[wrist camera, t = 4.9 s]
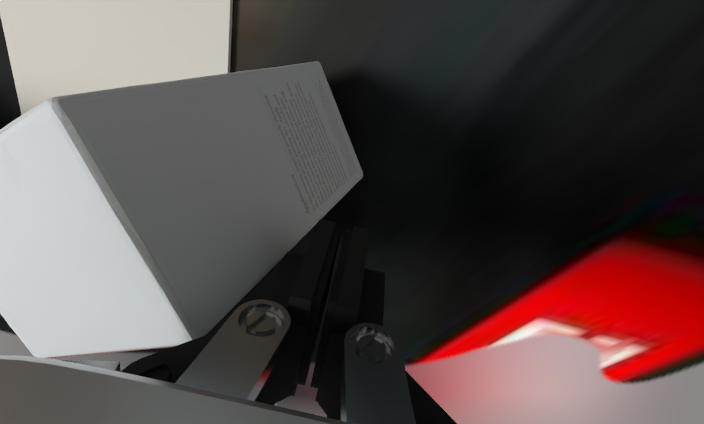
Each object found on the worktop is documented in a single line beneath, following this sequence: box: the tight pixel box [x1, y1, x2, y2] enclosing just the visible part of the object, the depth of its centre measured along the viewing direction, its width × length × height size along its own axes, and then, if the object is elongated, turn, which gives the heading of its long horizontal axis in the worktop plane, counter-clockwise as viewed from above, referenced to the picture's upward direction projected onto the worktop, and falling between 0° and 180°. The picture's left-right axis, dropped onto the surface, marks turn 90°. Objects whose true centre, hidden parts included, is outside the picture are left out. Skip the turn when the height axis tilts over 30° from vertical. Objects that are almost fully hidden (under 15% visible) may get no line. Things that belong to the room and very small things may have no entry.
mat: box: [0, 0, 233, 115], centre depth 23 cm, size 14×20×1 cm
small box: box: [0, 61, 363, 358], centre depth 15 cm, size 8×6×13 cm
